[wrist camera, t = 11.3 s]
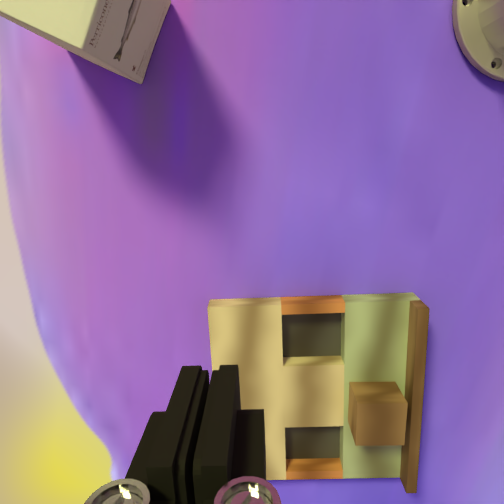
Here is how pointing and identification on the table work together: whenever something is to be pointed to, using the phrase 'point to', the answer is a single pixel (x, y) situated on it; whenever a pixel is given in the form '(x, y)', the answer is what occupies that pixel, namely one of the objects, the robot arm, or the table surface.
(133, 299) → the table surface
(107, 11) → the supplement box
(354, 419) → the walnut block
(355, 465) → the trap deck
